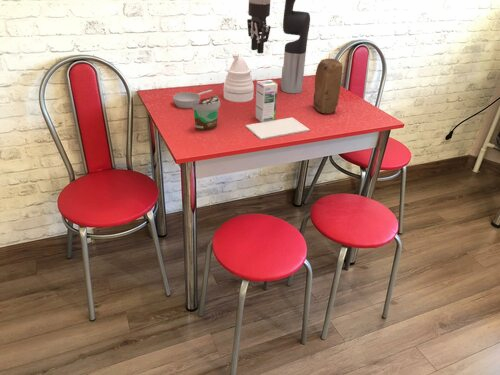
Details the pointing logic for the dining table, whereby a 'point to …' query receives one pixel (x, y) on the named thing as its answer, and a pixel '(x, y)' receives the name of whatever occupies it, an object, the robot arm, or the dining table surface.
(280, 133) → the mat
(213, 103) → the food container
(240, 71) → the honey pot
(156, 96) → the dining table surface
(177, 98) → the saucepan
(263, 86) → the syrup box
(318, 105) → the block
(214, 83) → the dining table surface
